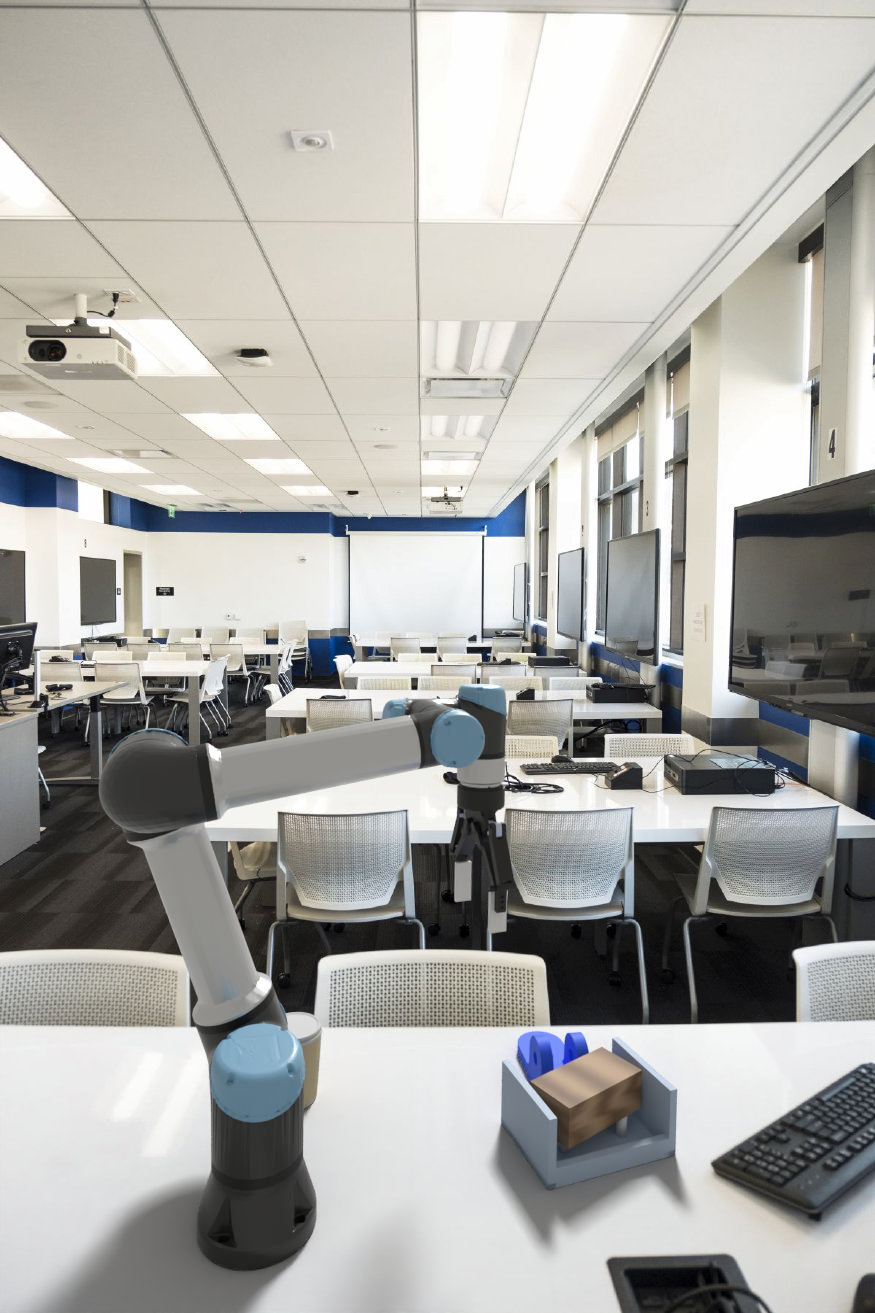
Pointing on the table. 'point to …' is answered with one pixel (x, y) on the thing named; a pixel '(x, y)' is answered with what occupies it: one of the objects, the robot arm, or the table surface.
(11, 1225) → the table surface
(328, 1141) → the table surface
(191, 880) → the robot arm
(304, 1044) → the coffee cup
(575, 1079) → the brown wooden block
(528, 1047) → the bracket
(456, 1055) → the table surface
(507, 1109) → the frame
